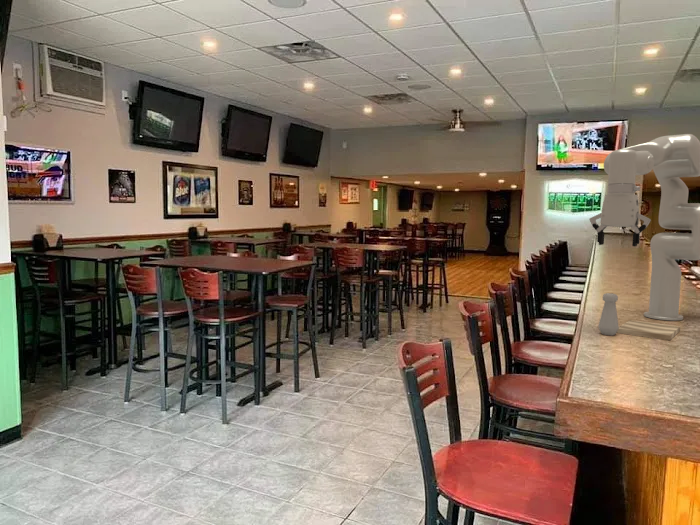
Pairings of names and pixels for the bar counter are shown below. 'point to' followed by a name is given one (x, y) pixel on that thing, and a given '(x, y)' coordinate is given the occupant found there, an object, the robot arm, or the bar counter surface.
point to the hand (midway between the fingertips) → (617, 245)
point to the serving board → (649, 329)
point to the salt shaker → (609, 315)
